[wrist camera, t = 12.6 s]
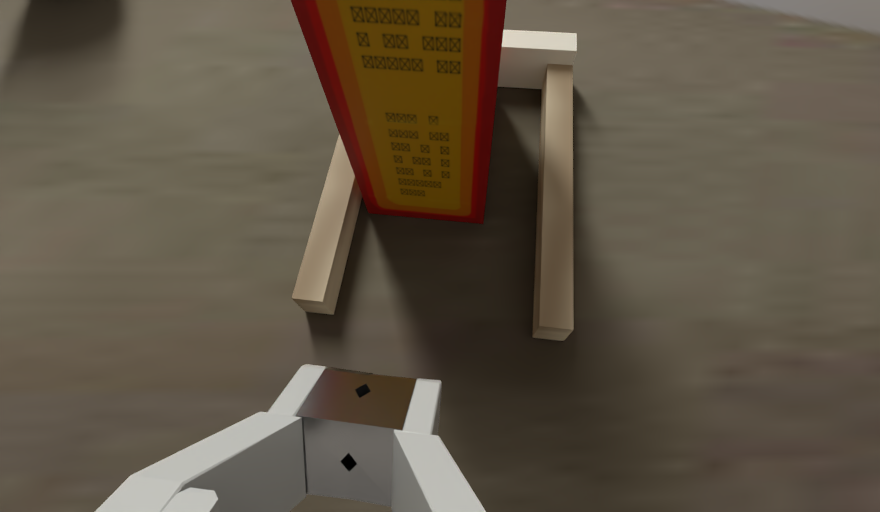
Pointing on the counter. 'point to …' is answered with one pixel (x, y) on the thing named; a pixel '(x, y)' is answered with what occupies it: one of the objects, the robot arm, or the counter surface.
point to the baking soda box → (411, 97)
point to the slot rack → (550, 69)
